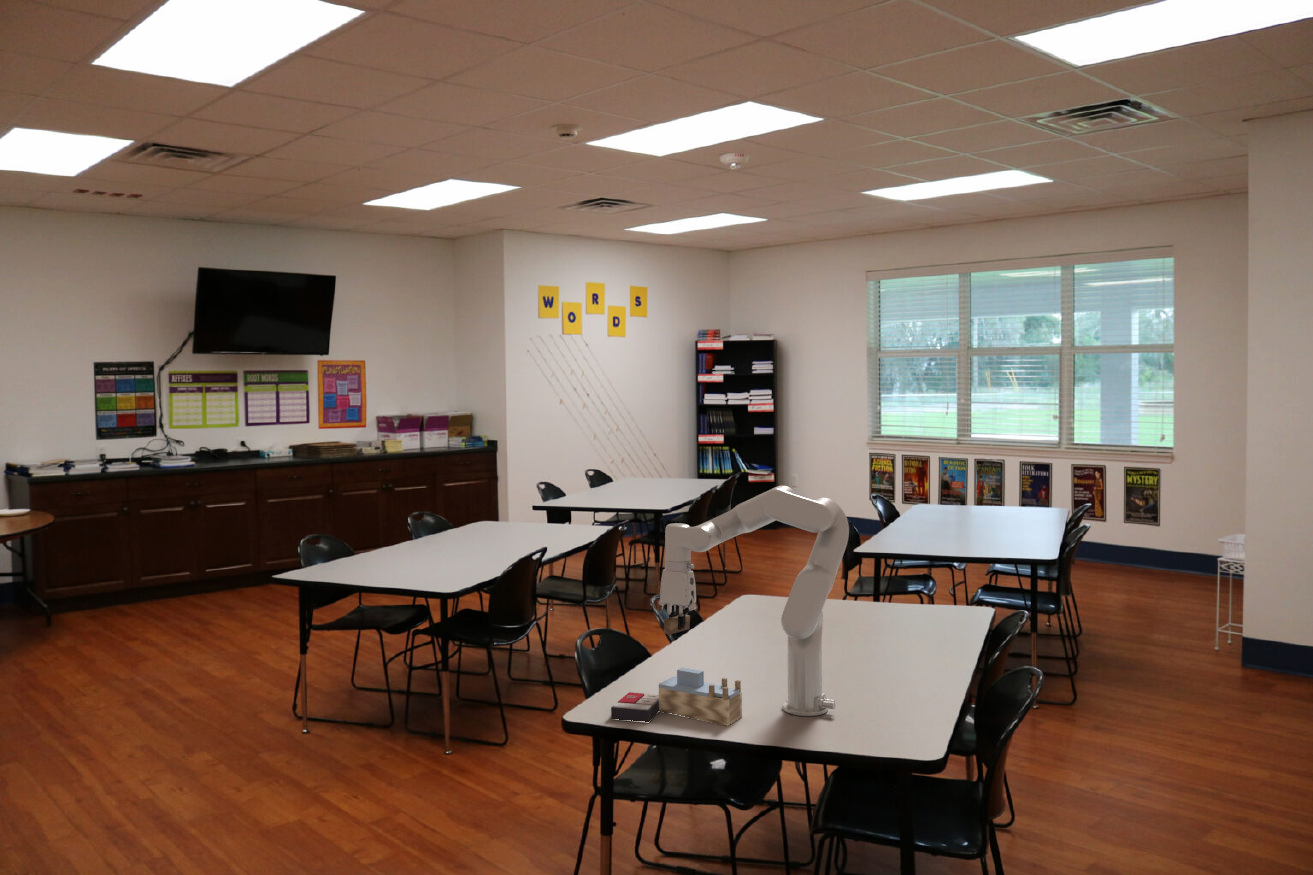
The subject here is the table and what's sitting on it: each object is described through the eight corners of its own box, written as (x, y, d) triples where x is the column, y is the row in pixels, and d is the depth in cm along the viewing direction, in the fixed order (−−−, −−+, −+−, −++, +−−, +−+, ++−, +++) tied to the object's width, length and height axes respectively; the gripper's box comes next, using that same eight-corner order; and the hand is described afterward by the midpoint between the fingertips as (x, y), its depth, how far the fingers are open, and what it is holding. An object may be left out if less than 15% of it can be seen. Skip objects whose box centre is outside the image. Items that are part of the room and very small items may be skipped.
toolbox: (742, 717, 255) (741, 680, 254) (727, 726, 248) (727, 688, 247) (674, 703, 267) (673, 668, 266) (659, 711, 260) (658, 676, 260)
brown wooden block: (689, 628, 276) (690, 615, 276) (670, 634, 266) (671, 620, 266) (682, 627, 277) (683, 614, 277) (663, 632, 267) (664, 619, 267)
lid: (741, 692, 254) (741, 674, 254) (727, 700, 248) (727, 682, 247) (673, 679, 266) (673, 662, 266) (658, 687, 260) (658, 669, 259)
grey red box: (664, 693, 266) (648, 707, 251) (664, 708, 266) (648, 723, 251) (627, 690, 269) (610, 704, 255) (627, 705, 269) (610, 720, 254)
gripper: (707, 566, 270) (707, 629, 271) (661, 561, 278) (660, 621, 279) (695, 571, 263) (694, 635, 264) (647, 565, 272) (647, 627, 273)
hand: (677, 627), depth 272 cm, fingers closed on brown wooden block, 2 cm apart
